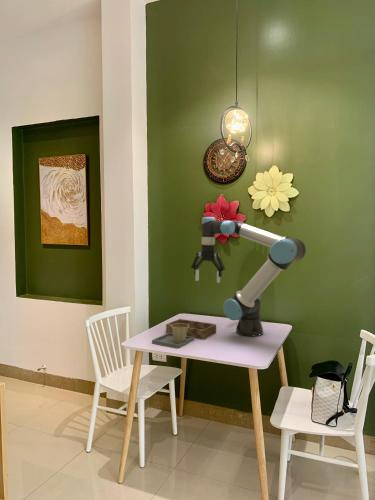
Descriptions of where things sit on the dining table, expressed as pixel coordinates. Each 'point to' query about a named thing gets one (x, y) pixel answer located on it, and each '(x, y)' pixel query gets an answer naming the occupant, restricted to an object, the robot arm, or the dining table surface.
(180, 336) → the flower pot
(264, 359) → the dining table surface
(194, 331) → the walled box
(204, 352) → the dining table surface
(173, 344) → the tray
